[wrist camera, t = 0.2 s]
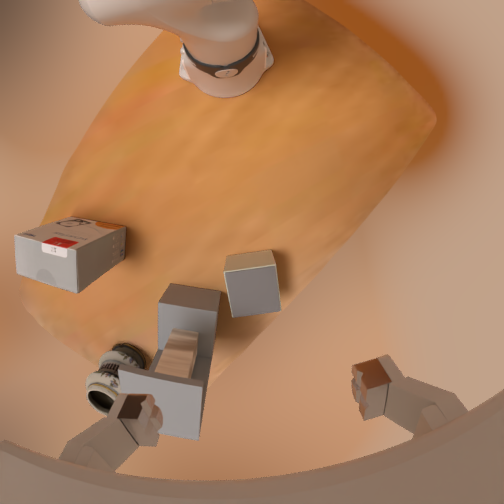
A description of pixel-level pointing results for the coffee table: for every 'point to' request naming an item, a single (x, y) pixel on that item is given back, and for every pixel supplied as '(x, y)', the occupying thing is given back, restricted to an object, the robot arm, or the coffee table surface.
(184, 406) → the grey podium
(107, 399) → the apothecary jar
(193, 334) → the block
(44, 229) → the hard drive box
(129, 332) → the coffee table surface
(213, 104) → the coffee table surface
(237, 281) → the stand
